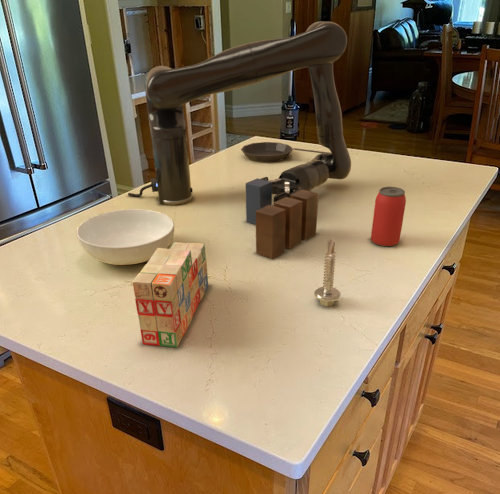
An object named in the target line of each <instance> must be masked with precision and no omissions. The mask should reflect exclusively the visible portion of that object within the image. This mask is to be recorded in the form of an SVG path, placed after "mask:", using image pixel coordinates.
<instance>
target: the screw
mask: <svg viewBox="0 0 500 494" xmlns="http://www.w3.org/2000/svg"><path fill="white" fill-rule="evenodd" d="M326 245H327V247H326V253H325V256H324V258H325V259H324V268H323V270H324V271H323V273H324V274H323V280H322V281H323V282H322V284H323V285H322V286H320V287H318V288H317V289H315V290H314V293H313V294H314V297H315V298H316V299H317V300H319V304H320V305H321V306H324V307H331V306H334V301H337V300H339V299H340V298H341V296H342V295H341V291H340V290H339V289H337V288H336V287H334V280H335V279H334V277H335V266H336V251H335V249H336V248H335V247H336V241H335V240H334V239H328V240H327V244H326Z"/></svg>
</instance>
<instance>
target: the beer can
mask: <svg viewBox="0 0 500 494" xmlns="http://www.w3.org/2000/svg"><path fill="white" fill-rule="evenodd" d="M406 204H407V198H406V191H405V190H404V189H403V188H401V187H397V186H384V187H381V188H379V190H378V193H377V195H376V197H375V202H374V209H373V217H372V223H371V224H372V225H371V232H370V240H371V242H372V243H374V244H375V245H377V246H380V247H392V246H396V245H398V244H399V243H400V242H401V235H402V229H403V224H404V223H403V222H404V216H405V209H406Z"/></svg>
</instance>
